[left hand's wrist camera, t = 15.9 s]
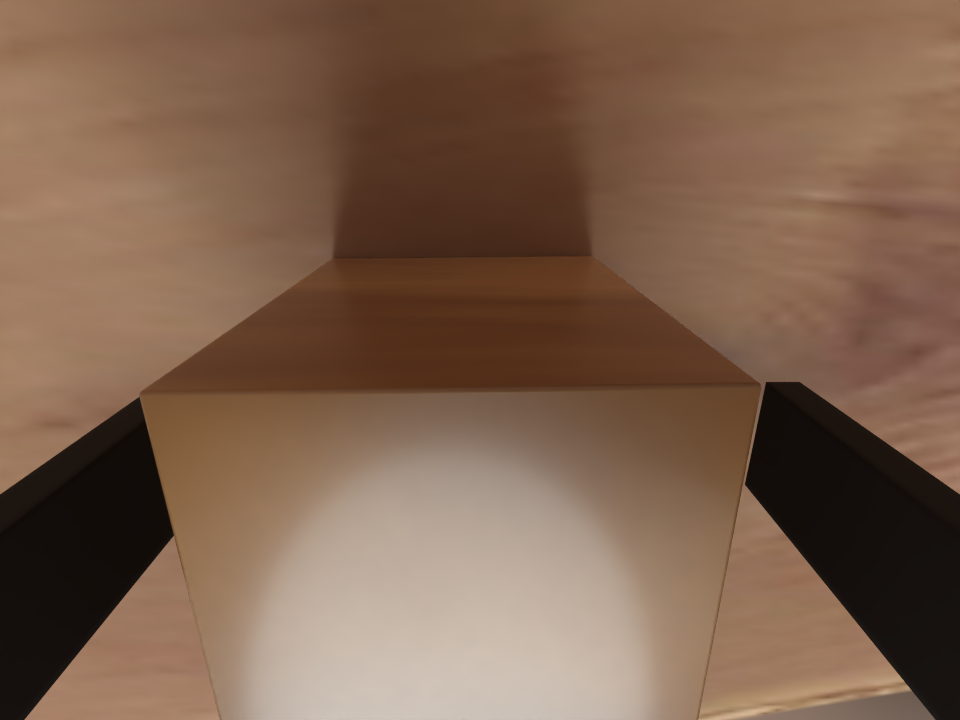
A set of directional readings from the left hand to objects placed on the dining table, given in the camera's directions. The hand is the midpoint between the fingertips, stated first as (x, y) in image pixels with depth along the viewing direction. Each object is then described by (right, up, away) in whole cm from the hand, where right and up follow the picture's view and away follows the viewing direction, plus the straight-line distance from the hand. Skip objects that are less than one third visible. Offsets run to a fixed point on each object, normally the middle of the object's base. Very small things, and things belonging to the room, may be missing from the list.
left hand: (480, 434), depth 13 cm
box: (0, -8, +9) cm, 12 cm away
